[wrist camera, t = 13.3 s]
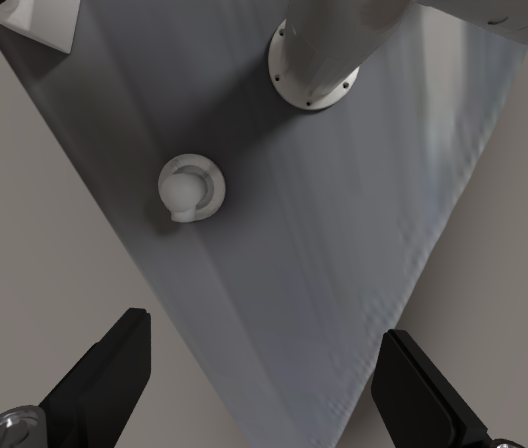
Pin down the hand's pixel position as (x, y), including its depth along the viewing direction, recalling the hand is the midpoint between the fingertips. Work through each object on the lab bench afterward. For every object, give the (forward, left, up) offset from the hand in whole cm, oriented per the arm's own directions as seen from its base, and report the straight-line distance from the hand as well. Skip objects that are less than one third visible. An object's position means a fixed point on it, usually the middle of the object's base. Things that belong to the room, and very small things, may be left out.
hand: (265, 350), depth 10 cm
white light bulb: (-2, -11, -31) cm, 33 cm away
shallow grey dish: (-2, -11, -32) cm, 34 cm away
